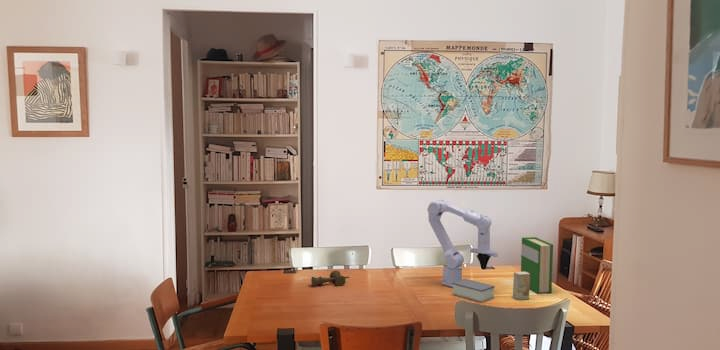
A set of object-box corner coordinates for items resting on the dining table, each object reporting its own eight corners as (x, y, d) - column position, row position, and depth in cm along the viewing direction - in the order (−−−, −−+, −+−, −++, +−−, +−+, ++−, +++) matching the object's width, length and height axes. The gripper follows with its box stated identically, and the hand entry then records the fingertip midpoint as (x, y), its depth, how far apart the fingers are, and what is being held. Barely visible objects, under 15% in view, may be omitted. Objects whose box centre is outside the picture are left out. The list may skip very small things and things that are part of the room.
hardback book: (551, 293, 260) (553, 244, 258) (537, 294, 258) (538, 245, 256) (534, 283, 277) (535, 237, 275) (520, 283, 276) (521, 237, 274)
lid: (452, 284, 257) (452, 282, 257) (465, 280, 264) (465, 278, 264) (481, 291, 245) (481, 290, 245) (494, 287, 252) (494, 285, 252)
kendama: (309, 284, 275) (346, 280, 282) (314, 290, 266) (352, 285, 273) (309, 273, 274) (346, 268, 281) (314, 278, 265) (352, 274, 272)
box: (452, 294, 258) (453, 284, 257) (465, 290, 264) (465, 280, 264) (481, 302, 246) (481, 291, 246) (493, 297, 253) (493, 287, 252)
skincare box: (517, 300, 249) (518, 274, 248) (512, 297, 253) (513, 271, 252) (529, 299, 251) (530, 273, 250) (524, 296, 255) (525, 271, 254)
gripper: (501, 242, 261) (501, 270, 262) (476, 238, 271) (476, 265, 272) (493, 244, 256) (492, 272, 257) (467, 240, 267) (467, 267, 268)
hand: (483, 269), depth 264 cm, fingers closed
